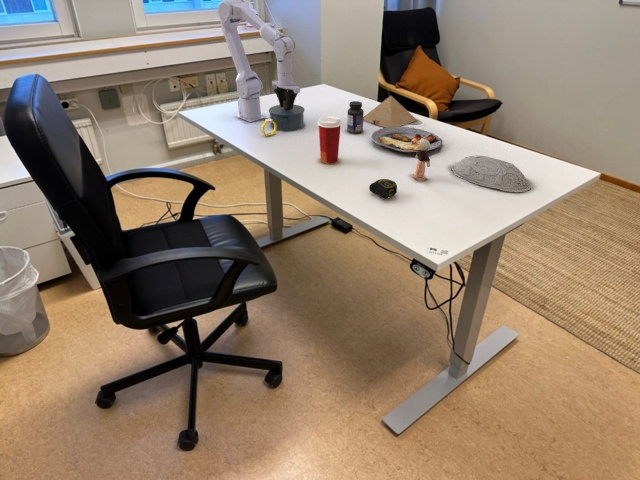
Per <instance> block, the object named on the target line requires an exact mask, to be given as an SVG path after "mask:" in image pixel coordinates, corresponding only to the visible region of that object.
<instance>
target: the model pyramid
mask: <svg viewBox="0 0 640 480" xmlns="http://www.w3.org/2000/svg"><path fill="white" fill-rule="evenodd" d="M417 121H418V119H417V118H416V117H415V116H414V115H413V114H411V113H410V111H409V110H407V109H406V107H404V106H403V105H402V104H401V103H400V102H398V101H397V100H396V98H395V97H394V96H393V95H390V96H388V97H387V98H385V99H384V100H383V101H382V102H381V103H379V104H377V106H375V108H373V109H372V110H370V111H369V112H368V113H367V114H365V115H363V122H367V123H370V124H372V125H375V126H380V127H382V128H387V127H388V128H389V127H403V126H404V125H408V124H411V123H413V122H417Z"/></svg>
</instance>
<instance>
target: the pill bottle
mask: <svg viewBox="0 0 640 480" xmlns="http://www.w3.org/2000/svg"><path fill="white" fill-rule="evenodd" d="M362 107H363V102H362V101H357V100H355V101H354V100H353V101H350V102H349V108H348V109H347V112H346V113H347V119H346V131H347V133H348V134H354V135H355V134H357V135H358V134H362V133H363V130H364V120H363V117H364V109H363V108H362Z"/></svg>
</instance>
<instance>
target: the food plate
mask: <svg viewBox="0 0 640 480" xmlns="http://www.w3.org/2000/svg"><path fill="white" fill-rule="evenodd" d="M370 138H371V140H372V141H373V143H375V144H377V145H379V146H383V147H385V148H387V149H391V150H393V151H394V150H395V151H396V152H402V153H409V154H410V153H411V154H412V153H417V152H418V150H420V149H419V145H420V140H421V139H426V140H428V141H429V143H430V145H431V146H430V147H429V148H427V150H426V151H427V153H428V152H431V151H433V150H434V151H435V150H437V149H439V148H441V147H442V146H443V139H442V138H441V137H440V136H438V135H436V134H435V133H433V132H430V131H426V130H424V129H419V128H416V127H411V126H410V127H409V126H399V127H389V128H388V127H387V128H386V127H382V128H380V129H377V130H375V131H373V132H372V134H371V136H370Z"/></svg>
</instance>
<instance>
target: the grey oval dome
mask: <svg viewBox="0 0 640 480" xmlns="http://www.w3.org/2000/svg"><path fill="white" fill-rule="evenodd" d="M450 170H451V171H452V173H453V175H455V176H456V177H458V178H461V179H463V180H465V181H468V182H470V183H472V184H476V185H479V186H482V187H486V188H492V189H497V190H500V191H503V192H510V193H524V192H527V191H530V190H531V189H532V183H531V182H530V181H529V180H528V179H527V178H526V177H525V174H524V173H523V172H522V171H521V170H520V169H519V168H518V166H516V165H515V164H514V163H512V162H508V161H505V160H502V159H497V158H495V157H490V156H487V155H481V154H480V155H479V154H477V155H471V156H465V157H463V158H461V159H460V160H459V161H458V162H457V163H456V164H455V165H451V167H450Z"/></svg>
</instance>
